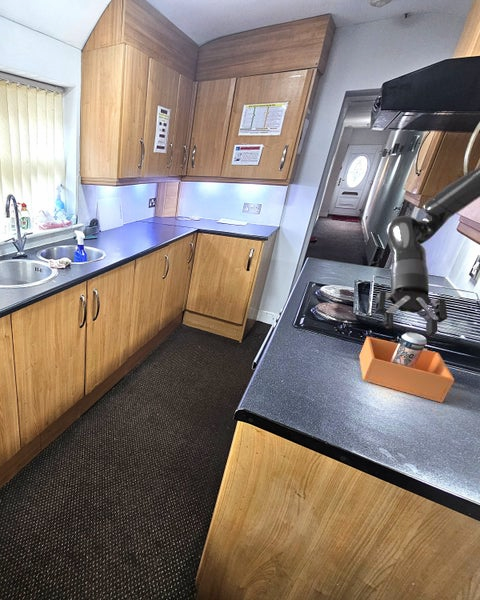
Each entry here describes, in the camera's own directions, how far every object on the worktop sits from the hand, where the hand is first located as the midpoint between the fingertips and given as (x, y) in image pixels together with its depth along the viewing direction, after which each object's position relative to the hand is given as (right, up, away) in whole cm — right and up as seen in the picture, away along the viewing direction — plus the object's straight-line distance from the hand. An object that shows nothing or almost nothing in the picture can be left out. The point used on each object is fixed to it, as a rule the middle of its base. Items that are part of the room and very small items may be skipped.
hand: (409, 331), depth 87 cm
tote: (-2, -13, +2) cm, 13 cm away
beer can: (-2, -12, +2) cm, 12 cm away
